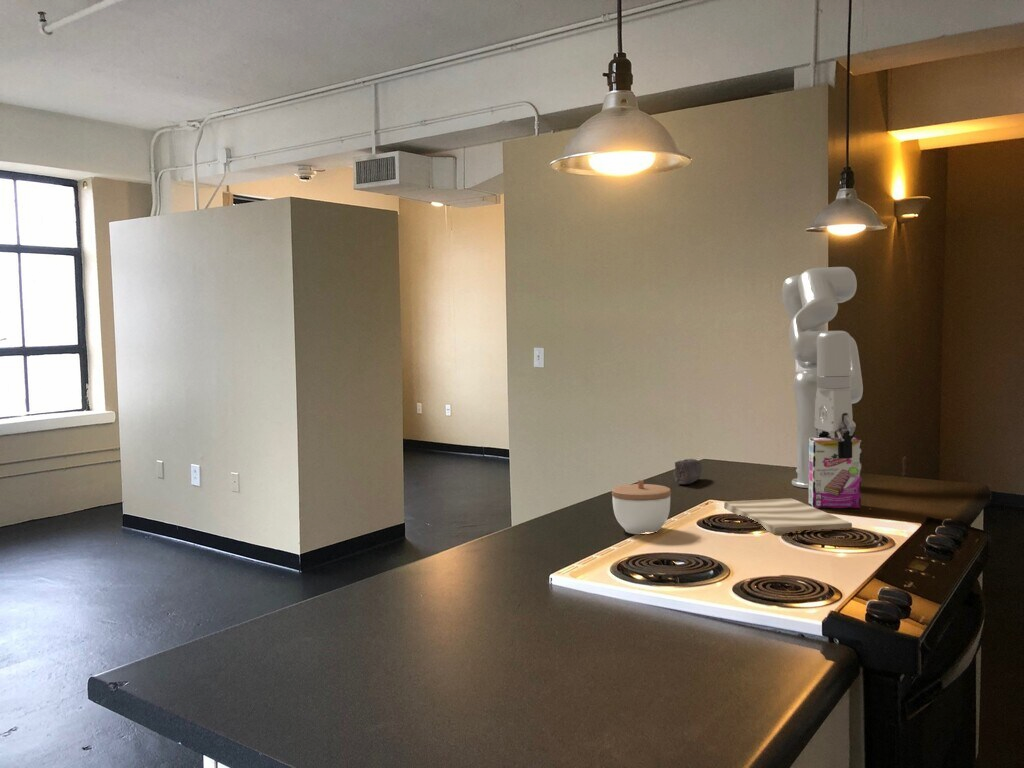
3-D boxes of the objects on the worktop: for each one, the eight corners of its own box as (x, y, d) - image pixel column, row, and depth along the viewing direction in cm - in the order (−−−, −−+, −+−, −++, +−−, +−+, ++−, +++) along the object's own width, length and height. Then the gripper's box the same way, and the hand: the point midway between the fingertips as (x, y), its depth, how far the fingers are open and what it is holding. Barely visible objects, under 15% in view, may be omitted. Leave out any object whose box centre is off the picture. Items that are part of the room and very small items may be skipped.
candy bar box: (813, 509, 196) (812, 440, 195) (808, 504, 201) (807, 437, 200) (862, 508, 194) (862, 439, 194) (855, 504, 199) (855, 436, 199)
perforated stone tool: (692, 478, 243) (692, 454, 242) (709, 479, 239) (708, 455, 239) (669, 486, 231) (668, 461, 230) (686, 487, 228) (686, 462, 227)
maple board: (724, 507, 200) (724, 501, 199) (791, 504, 201) (791, 498, 201) (774, 534, 172) (774, 527, 172) (851, 530, 174) (851, 523, 174)
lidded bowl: (680, 535, 174) (679, 483, 173) (622, 539, 171) (621, 486, 171) (659, 522, 186) (658, 474, 185) (605, 526, 184) (604, 477, 183)
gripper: (801, 382, 204) (802, 451, 205) (837, 386, 187) (838, 461, 188) (830, 381, 205) (831, 450, 206) (868, 385, 188) (869, 459, 189)
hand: (834, 455), depth 197 cm, fingers open, 9 cm apart
